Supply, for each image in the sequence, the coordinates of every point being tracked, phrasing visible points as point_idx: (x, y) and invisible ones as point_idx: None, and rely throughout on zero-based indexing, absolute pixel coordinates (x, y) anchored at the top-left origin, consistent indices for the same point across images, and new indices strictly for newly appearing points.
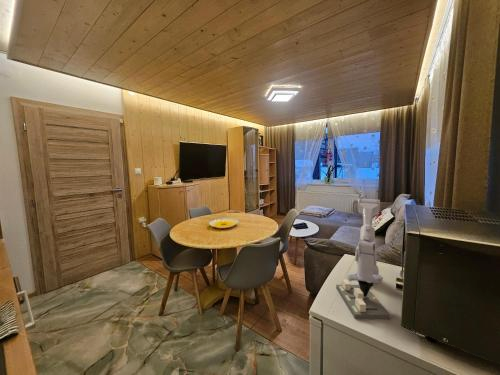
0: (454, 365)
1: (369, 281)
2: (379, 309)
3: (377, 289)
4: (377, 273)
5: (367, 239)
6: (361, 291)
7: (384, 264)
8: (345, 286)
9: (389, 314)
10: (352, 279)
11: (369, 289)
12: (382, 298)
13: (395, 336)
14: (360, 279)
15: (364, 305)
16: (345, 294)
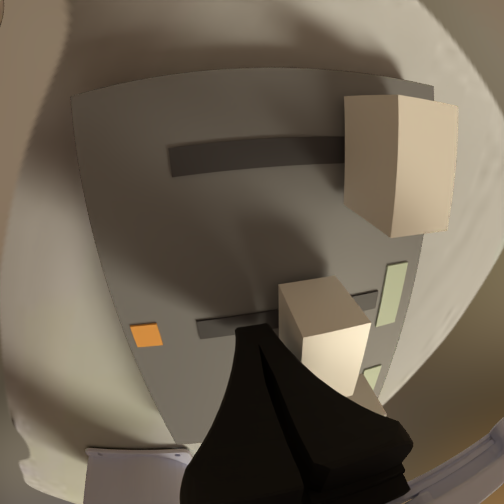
0: None
1: None
2: (152, 159)
3: (96, 417)
4: (89, 499)
5: None
6: (307, 367)
7: (64, 498)
8: (376, 397)
9: (78, 96)
10: (484, 451)
11: (229, 402)
12: (76, 352)
13: None
14: (467, 500)
15: (405, 97)
16: (383, 332)
